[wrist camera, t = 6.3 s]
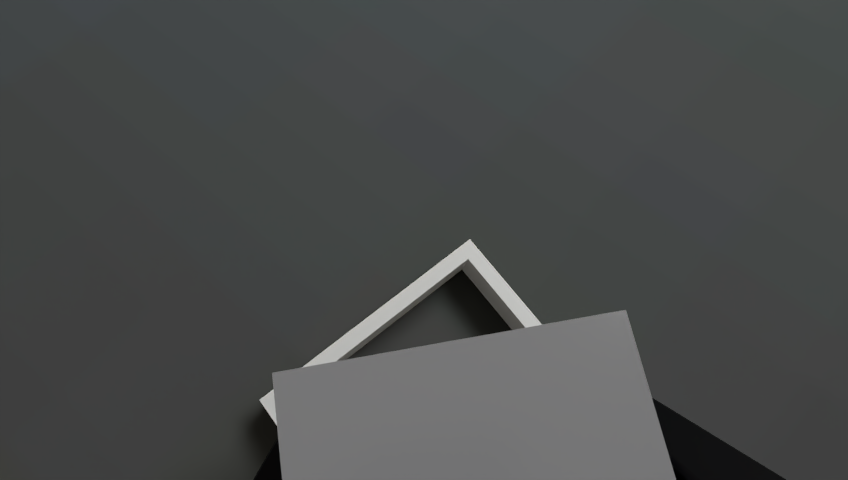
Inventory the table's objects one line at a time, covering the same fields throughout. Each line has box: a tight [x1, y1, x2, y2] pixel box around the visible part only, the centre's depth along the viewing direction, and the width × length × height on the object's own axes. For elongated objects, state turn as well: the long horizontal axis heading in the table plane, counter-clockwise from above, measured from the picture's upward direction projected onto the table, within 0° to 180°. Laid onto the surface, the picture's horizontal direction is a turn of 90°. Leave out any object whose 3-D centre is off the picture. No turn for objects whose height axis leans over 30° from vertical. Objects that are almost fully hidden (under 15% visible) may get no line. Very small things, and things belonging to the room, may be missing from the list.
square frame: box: [260, 240, 542, 425], centre depth 20 cm, size 10×10×2 cm
